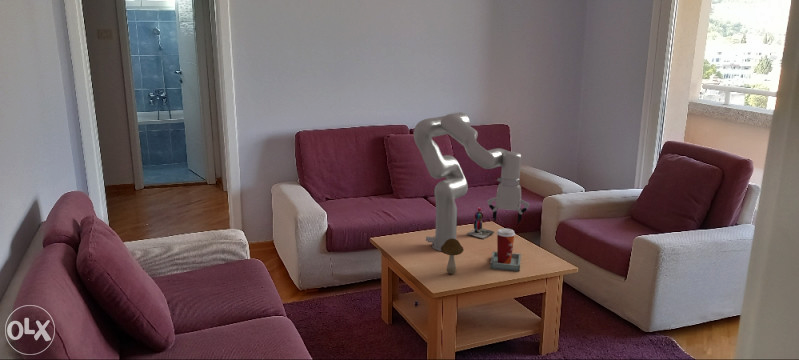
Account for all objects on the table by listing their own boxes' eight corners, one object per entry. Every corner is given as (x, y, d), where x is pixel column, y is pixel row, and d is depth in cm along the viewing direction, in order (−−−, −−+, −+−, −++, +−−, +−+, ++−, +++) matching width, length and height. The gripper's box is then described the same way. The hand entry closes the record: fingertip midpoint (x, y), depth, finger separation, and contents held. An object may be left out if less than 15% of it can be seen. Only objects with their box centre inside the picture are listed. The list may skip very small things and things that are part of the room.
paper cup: (513, 266, 245) (515, 234, 241) (494, 264, 246) (496, 233, 243) (513, 259, 252) (515, 228, 249) (495, 258, 253) (496, 227, 250)
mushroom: (462, 268, 244) (463, 234, 240) (462, 279, 233) (464, 243, 229) (440, 267, 244) (441, 233, 241) (439, 278, 233) (440, 242, 230)
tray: (490, 268, 244) (490, 263, 243) (492, 256, 257) (492, 251, 256) (519, 271, 241) (519, 265, 240) (520, 259, 254) (520, 253, 254)
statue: (483, 242, 280) (483, 213, 275) (466, 237, 285) (466, 209, 280) (494, 233, 288) (495, 205, 282) (478, 229, 293) (478, 201, 288)
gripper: (488, 182, 239) (485, 222, 243) (531, 186, 235) (527, 226, 240) (489, 177, 246) (486, 216, 250) (531, 181, 242) (527, 220, 247)
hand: (506, 221), depth 245 cm, fingers open, 9 cm apart
